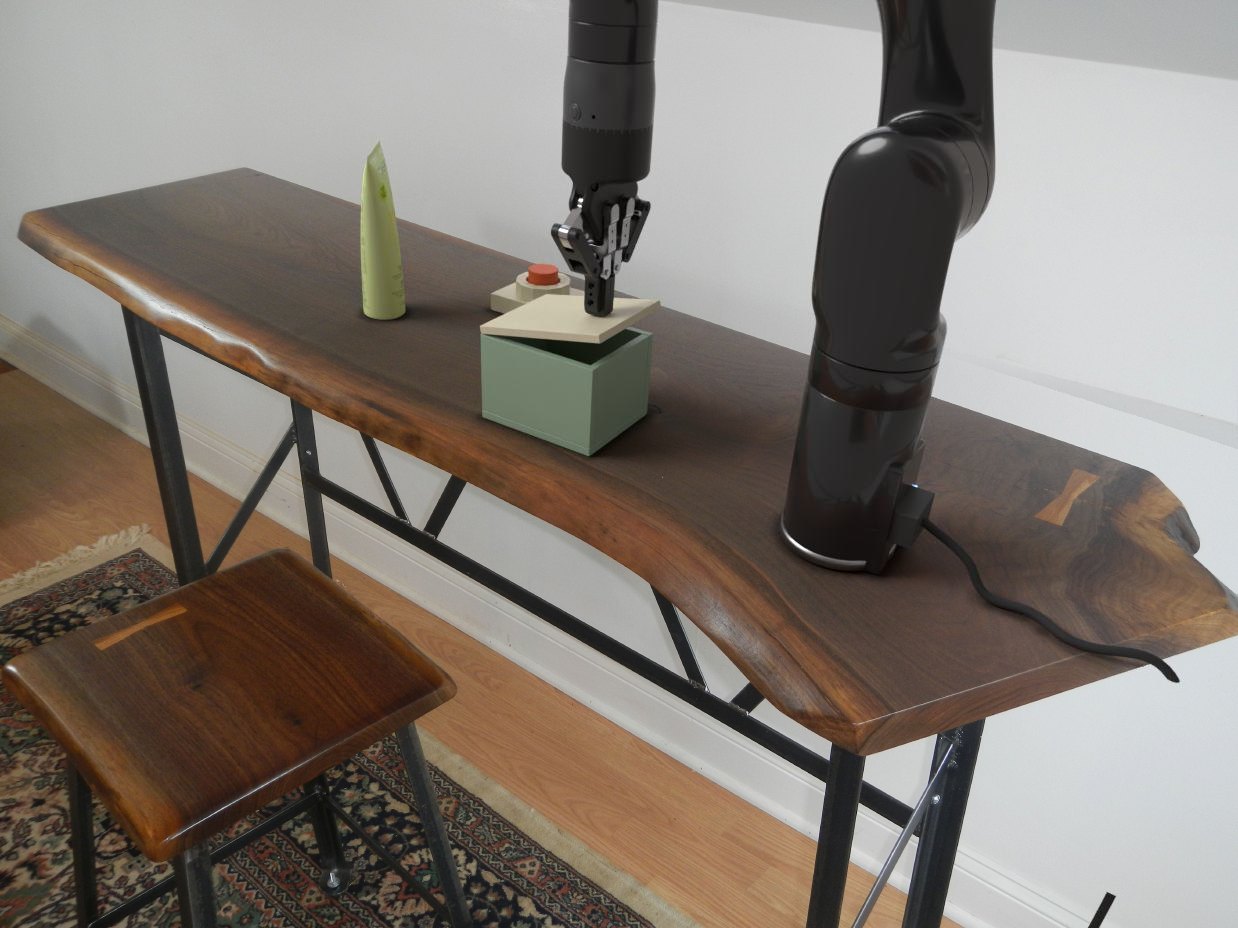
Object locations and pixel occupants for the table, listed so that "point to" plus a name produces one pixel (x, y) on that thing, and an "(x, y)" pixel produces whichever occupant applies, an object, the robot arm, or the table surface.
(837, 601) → the table surface
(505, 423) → the chest
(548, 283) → the button
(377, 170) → the tube
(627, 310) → the lid
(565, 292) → the button box
